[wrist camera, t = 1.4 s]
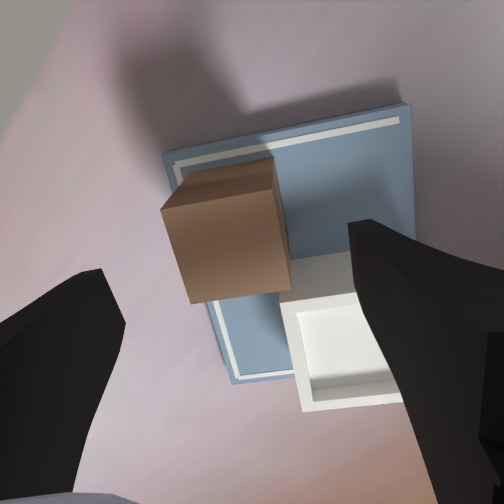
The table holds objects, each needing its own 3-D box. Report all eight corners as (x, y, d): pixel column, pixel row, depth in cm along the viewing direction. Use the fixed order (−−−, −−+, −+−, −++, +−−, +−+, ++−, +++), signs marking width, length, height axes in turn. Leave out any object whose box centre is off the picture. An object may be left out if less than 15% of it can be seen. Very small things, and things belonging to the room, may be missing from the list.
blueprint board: (415, 351, 23) (446, 417, 19) (233, 373, 25) (224, 438, 21) (403, 102, 18) (444, 116, 13) (167, 151, 19) (134, 178, 15)
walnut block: (288, 236, 20) (291, 289, 15) (210, 249, 20) (190, 304, 16) (273, 156, 18) (271, 188, 13) (188, 173, 18) (160, 209, 14)
